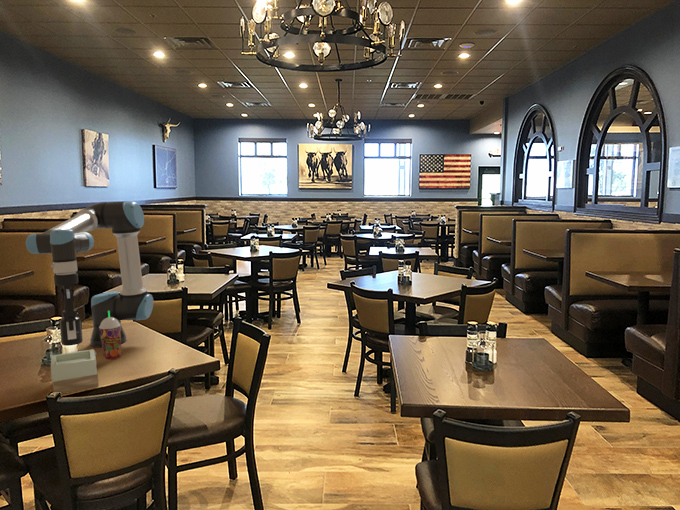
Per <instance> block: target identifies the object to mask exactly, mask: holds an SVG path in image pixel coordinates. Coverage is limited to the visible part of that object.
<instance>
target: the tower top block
mask: <svg viewBox="0 0 680 510" xmlns="http://www.w3.org/2000/svg"><path fill="white" fill-rule="evenodd" d="M77 351H78V350H77ZM77 351H73V352H72V351H71V352H67V353H60V354H52V355H51V359H50V374H51V382H52V383H53V382H56V381H61V380H67V379H73V378H79V377H85V376H90V375H96V374H98V370H97V359H96V358H95V353H94V351H95V349H93V348H92V349H86V350H85V351H84V350H79V351H78V352H77Z"/></svg>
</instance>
